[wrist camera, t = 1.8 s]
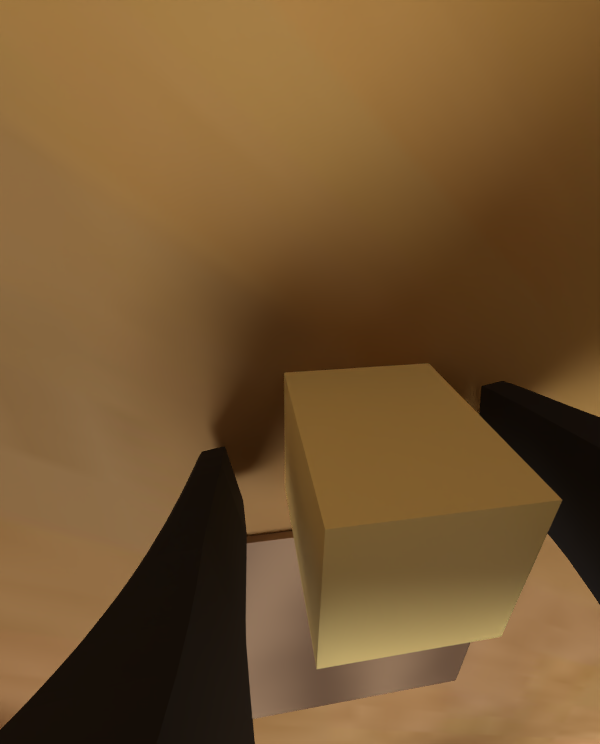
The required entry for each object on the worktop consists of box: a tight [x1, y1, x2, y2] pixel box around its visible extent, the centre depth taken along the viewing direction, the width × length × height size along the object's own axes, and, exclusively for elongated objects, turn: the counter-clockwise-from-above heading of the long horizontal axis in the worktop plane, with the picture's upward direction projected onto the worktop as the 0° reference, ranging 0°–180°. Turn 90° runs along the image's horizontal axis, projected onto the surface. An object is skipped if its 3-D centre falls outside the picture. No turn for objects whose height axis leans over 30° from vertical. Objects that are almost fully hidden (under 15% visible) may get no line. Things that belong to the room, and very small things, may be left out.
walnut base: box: [246, 531, 470, 719], centre depth 17 cm, size 12×12×1 cm
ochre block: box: [284, 363, 562, 669], centre depth 10 cm, size 4×4×6 cm
